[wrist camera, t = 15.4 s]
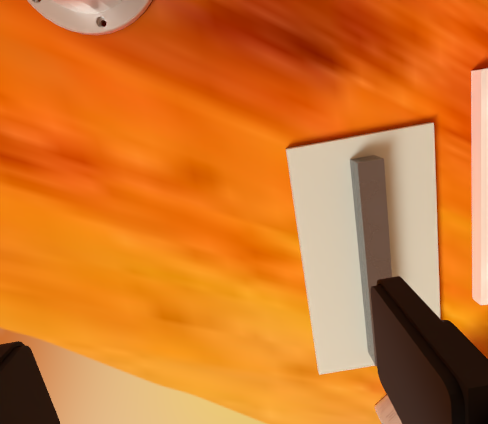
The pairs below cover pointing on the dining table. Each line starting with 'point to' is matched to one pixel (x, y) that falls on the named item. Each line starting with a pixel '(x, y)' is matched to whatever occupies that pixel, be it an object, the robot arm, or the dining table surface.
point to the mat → (345, 235)
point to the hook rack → (479, 184)
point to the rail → (371, 232)
